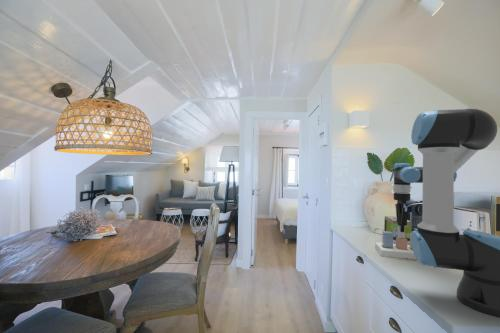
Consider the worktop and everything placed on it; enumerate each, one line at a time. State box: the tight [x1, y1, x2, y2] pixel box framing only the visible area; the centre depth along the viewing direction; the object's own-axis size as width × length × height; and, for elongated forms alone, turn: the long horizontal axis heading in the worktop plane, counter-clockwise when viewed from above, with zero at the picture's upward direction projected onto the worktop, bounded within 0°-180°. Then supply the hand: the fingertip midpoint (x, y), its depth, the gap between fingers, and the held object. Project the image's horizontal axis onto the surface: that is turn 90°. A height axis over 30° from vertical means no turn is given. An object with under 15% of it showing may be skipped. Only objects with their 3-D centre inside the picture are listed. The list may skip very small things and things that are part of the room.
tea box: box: [383, 215, 412, 245], centre depth 147 cm, size 15×10×15 cm, turn 168°
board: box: [374, 241, 416, 260], centre depth 128 cm, size 14×22×3 cm, turn 75°
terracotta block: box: [396, 237, 407, 250], centre depth 128 cm, size 4×4×7 cm
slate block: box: [381, 230, 393, 247], centre depth 129 cm, size 4×4×7 cm
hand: (401, 237), depth 128 cm, fingers closed
